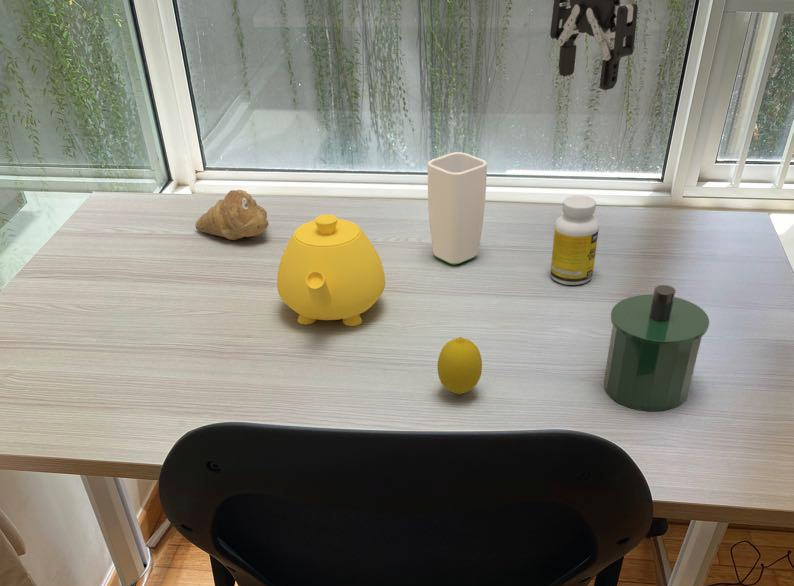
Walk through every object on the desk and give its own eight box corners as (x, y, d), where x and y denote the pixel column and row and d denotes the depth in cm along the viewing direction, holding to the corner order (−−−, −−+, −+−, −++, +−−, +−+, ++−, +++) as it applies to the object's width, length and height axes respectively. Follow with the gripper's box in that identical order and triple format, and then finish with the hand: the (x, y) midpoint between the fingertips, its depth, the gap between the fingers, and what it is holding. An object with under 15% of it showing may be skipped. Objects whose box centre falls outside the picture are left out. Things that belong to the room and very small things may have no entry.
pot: (693, 374, 113) (709, 307, 107) (681, 418, 106) (697, 349, 100) (612, 360, 116) (623, 294, 110) (596, 402, 109) (606, 334, 103)
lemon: (461, 377, 114) (463, 322, 109) (489, 395, 111) (492, 339, 106) (428, 391, 112) (428, 336, 107) (456, 411, 109) (457, 354, 103)
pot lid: (712, 310, 107) (721, 275, 104) (700, 356, 100) (709, 320, 97) (619, 296, 111) (625, 262, 108) (600, 340, 103) (606, 304, 100)
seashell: (210, 256, 153) (187, 252, 146) (197, 209, 152) (174, 203, 144) (280, 233, 149) (260, 228, 141) (267, 185, 148) (247, 176, 140)
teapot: (374, 354, 119) (370, 258, 110) (263, 350, 121) (249, 256, 112) (392, 285, 134) (389, 196, 124) (292, 283, 135) (282, 194, 126)
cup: (453, 271, 137) (455, 175, 126) (423, 256, 141) (422, 162, 131) (487, 257, 140) (491, 162, 130) (456, 243, 144) (458, 150, 134)
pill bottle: (583, 290, 131) (593, 213, 123) (543, 281, 133) (550, 206, 125) (598, 272, 135) (608, 197, 127) (558, 264, 137) (566, 190, 129)
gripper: (662, -52, 109) (641, 88, 120) (586, -66, 118) (573, 66, 129) (617, -44, 107) (600, 99, 118) (543, -59, 116) (533, 75, 127)
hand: (585, 81), depth 124 cm, fingers open, 8 cm apart
